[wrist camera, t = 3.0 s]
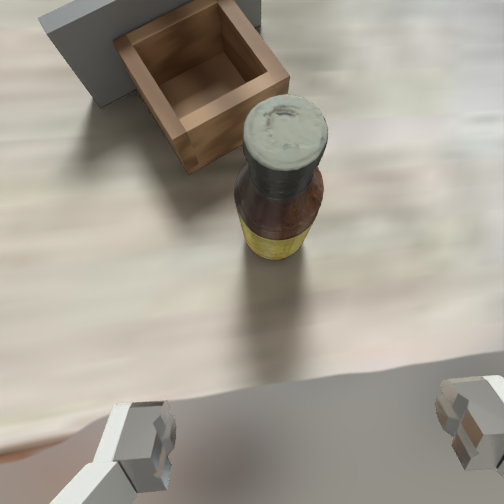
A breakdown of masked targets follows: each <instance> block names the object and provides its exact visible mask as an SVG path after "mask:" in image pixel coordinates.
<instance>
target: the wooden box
mask: <svg viewBox="0 0 504 504" xmlns="http://www.w3.org/2000/svg"><path fill="white" fill-rule="evenodd" d="M112 42H113V44H114V46H115V48H116V50H117V52H118V54H119V56H120V58H121V60H122V62H123V64H124V66H125V67H126V69H127V71H128V73H129V75H130V77H131V79H132V81H133V83H134V85H135V87H136V89H137V91H138V92H139V94H140V96H141V97H142V99H143V101H144V102H145V104H146V105H147V107H148V109H149V110H150V112H151V114H152V115H153V117H154V119H155V120H156V122H157V123H158V125H159V127H160V128H161V130H162V132H163V133H164V135H165V137H166V138H167V140H168V142H169V143H170V145H171V146H172V148H173V150H174V151H175V153H176V155H177V156H178V158H179V160H180V161H181V163H182V164H183V166H184V168H185V169H186V171H187V173H188V174H191V173H193V172H194V171H196V170H198V169H200V168H202V167H203V166H205V165H207V164H209V163H211V162H212V161H214V160H216V159H218V158H219V157H221V156H223V155H225V154H227V153H228V152H230V151H232V150H234V149H236V148H237V147H239V146H241V145H243V128H244V123H245V120H246V117H247V115H248V114H249V113H250V111H251V110H252V109H253V108H254V107H255V106H256V105H257V104H258V103H260V102H262V101H264V100H266V99H268V98H271V97H274V96H278V95H286V94H288V88H289V80H290V75H289V74H288V72H287V71H286V70H285V68H284V67H283V66H282V64H281V63H280V62H279V60H278V59H277V58H276V56H275V55H274V54H273V52H272V51H271V50H270V48H269V47H268V46H267V44H266V43H265V42H264V40H263V39H262V38H261V36H260V35H259V33H258V32H257V31H256V29H255V28H254V27H253V25H252V24H251V23H250V21H249V20H248V19H247V17H246V16H245V15H244V13H243V12H242V11H241V9H240V8H239V7H238V5H237V4H236V3H235V1H234V0H194V1H192V2H190V3H188V4H186V5H184V6H182V7H180V8H178V9H176V10H174V11H172V12H170V13H168V14H166V15H164V16H162V17H160V18H158V19H156V20H154V21H152V22H150V23H148V24H146V25H144V26H142V27H140V28H138V29H136V30H134V31H132V32H130V33H128V34H126V35H124V36H122V37H120V38H118V39H116V40H114V41H112Z"/></svg>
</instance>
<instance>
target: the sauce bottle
mask: <svg viewBox="0 0 504 504" xmlns="http://www.w3.org/2000/svg"><path fill="white" fill-rule="evenodd" d="M327 140H328V127H327V124H326V121H325V118H324V116H323V115H322V113H321V111H320V109H318V108H317V107H316V106H315V105H314V104H313V103H311V102H310V101H308V100H307V99H305V98H303V97H299V96H296V95H290V94H286V95H278V96H274V97H271V98H268V99H266V100H264V101H262V102H260V103H258V104H257V105H256V106H255V107H254V108H253V109H252V110H251V111H250V113H249V114H248V115H247V117H246V120H245V123H244V128H243V150H244V155H245V157H246V160H247V162H248V163H247V164H246V165H245V166H244V167H243V168H242V169H241V171H240V173H239V175H238V176H237V179H236V183H235V189H234V197H235V203H236V208H237V212H238V215H239V219H240V222H241V226H242V230H243V234H244V237H245V240H246V242H247V244H248V246H249V247H250V248H251V249H252V250H253V251H254V252H255V253H256V254H257V255H258V256H260V257H263V258H266V259H272V260H281V259H285V258H286V257H288V256H290V255H292V254H293V253H294V252H296V251H297V250H298V249H299V248H300V246H301V244H302V243H303V241H304V239H305V237H306V236H307V234H308V232H309V230H310V228H311V226H312V224H313V222H314V220H315V218H316V216H317V214H318V210H319V208H320V206H321V201H322V199H323V192H324V186H323V179H322V175H321V173H320V171H319V169H318V167H317V166H318V165H319V162H320V160H321V158H322V156H323V153H324V150H325V148H326V144H327Z"/></svg>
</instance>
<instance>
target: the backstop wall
mask: <svg viewBox="0 0 504 504" xmlns="http://www.w3.org/2000/svg"><path fill="white" fill-rule="evenodd" d="M192 1H194V0H74V1H72V2H70V3H68V4H66V5H64V6H62V7H60V8H58V9H56V10H54V11H52V12H50V13H47V14H45V15H43V16H41V17H39V18H38V20H39V22H40V23H41V25H42V27H43V29H44V31H45V32H46V34H47V36H48V37H49V38H50V40H51V41H52V42H53V44H54V45H55V46H56V48H57V49H58V51H59V52H60V53H61V55H62V56H63V57H64V59H65V60H66V62H67V63H68V64H69V66H70V67H71V68H72V70H73V71H74V72H75V74H76V75H77V77H78V78H79V79H80V81H81V82H82V83H83V85H84V86H85V88H86V89H87V90H88V92H89V93H90V94H91V96H92V97H93V98H94V100H95V101H96V103H97V104H98V105H99V107H100V108H102V107H104V106H105V105H107V104H109V103H111V102H113V101H115V100H117V99H119V98H121V97H123V96H125V95H127V94H128V93H130V92H132V91H134V90H136V87H135V85H134V83H133V81H132V79H131V77H130V75H129V73H128V71H127V69H126V67H125V66H124V64H123V62H122V60H121V58H120V56H119V54H118V52H117V50H116V48H115V46H114V44H113V42H112V41H114V40H116V39H118V38H120V37H122V36H124V35H126V34H128V33H130V32H132V31H134V30H136V29H138V28H140V27H142V26H144V25H146V24H148V23H150V22H152V21H154V20H156V19H158V18H160V17H162V16H164V15H166V14H168V13H170V12H172V11H174V10H176V9H178V8H180V7H182V6H184V5H186V4H188V3H190V2H192ZM234 1H235V3H236V4H237V5H238V7H239V8H240V9H241V11H242V12H243V13H244V15H245V16H246V17H247V19H248V20H249V21H250V23H251V24H252V25H253V27H254V28H255V27H257V26H259V25H261V0H234Z"/></svg>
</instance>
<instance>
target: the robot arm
mask: <svg viewBox="0 0 504 504" xmlns="http://www.w3.org/2000/svg"><path fill="white" fill-rule="evenodd" d="M440 387H441V389H442V391H443V392H442V393H441V394H439V395H438V396H437V398H436V402H435V407H436V414H437V417H438V420H439V422H440V424H441V426H442V428H443V430H444V431H446V432H447V433H448V434H450V435H451V436H452V437H453V440H452V447H453V449H454V451H455V453H456V455H457V457H458V459H459V461H460V462H461V464H462V466H463V468H464V470H465V471H469V470H495V469H498V470H497V472H498V473H499V474H500V475H501V476H502V477H504V378H503V377H501V376H499V375H492V376H481V377H479V376H475V377H465V378H455V379H445V380H444V381H442V384H441V386H440ZM169 410H170V405H169V403H168V401H167V400H165V401H150V402H131V403H118V404H115V406H114V407H113V409H112V410H111V413H110V416H109V419H108V422H107V424H106V427H105V430H104V433H103V435H102V438H101V440H100V443H99V446H98V449H97V451H96V454H95V457H94V460H93V462H92V463H88V464H86V465H85V466H84V467H83V468H82V470H81V471H80V472H79V473H78V474H77V475H76V476H75V477H74V478H73V479H72V480H71V481H70V482H69V483H68V484H67V486H66V487H65V488H64V489H63V490H62V491H61V492H60V493H59V494H58V495H57V496H56V497H55V498H54V499H53V501H52V502H51V503H50V504H132V503H133V501H134V500H135V498H136V497H137V493H144V492H155V491H163V490H164V491H165V490H167V486H168V481H169V475H170V469H171V463H170V460H169V458H168V455H169V454H170V453H171V452H172V451H173V449H174V447H175V440H176V423H175V419H174V416H173V415H172V414H170V413H169Z"/></svg>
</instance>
